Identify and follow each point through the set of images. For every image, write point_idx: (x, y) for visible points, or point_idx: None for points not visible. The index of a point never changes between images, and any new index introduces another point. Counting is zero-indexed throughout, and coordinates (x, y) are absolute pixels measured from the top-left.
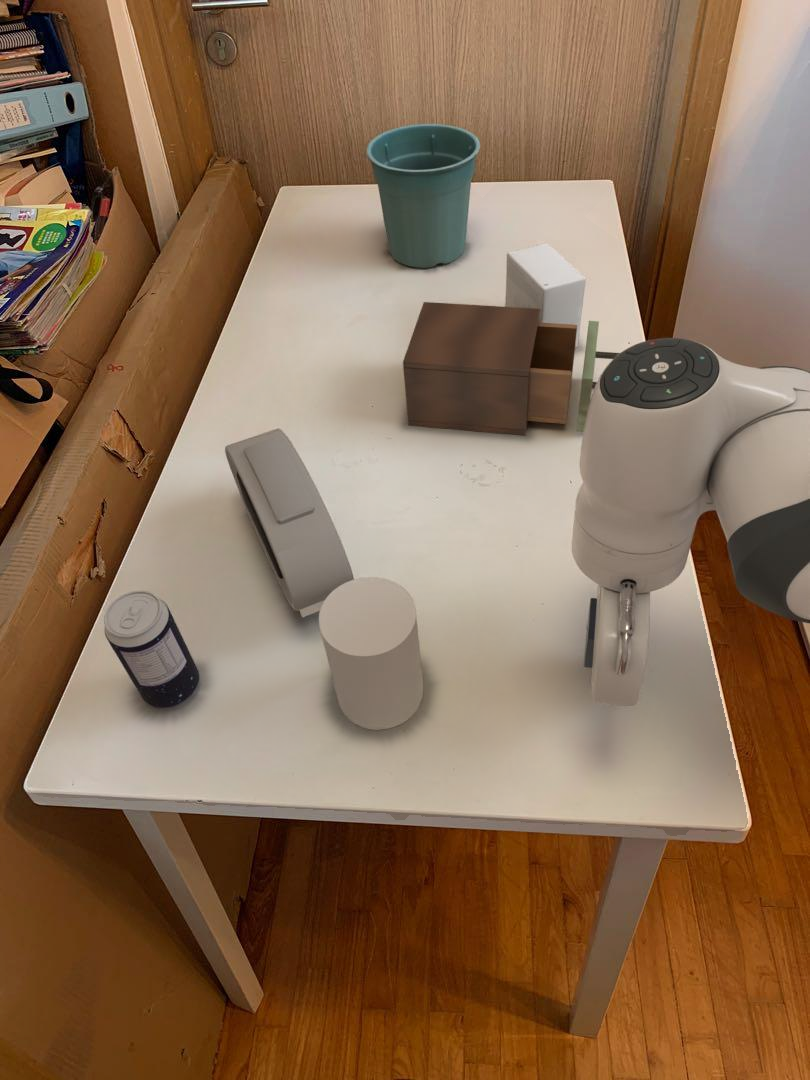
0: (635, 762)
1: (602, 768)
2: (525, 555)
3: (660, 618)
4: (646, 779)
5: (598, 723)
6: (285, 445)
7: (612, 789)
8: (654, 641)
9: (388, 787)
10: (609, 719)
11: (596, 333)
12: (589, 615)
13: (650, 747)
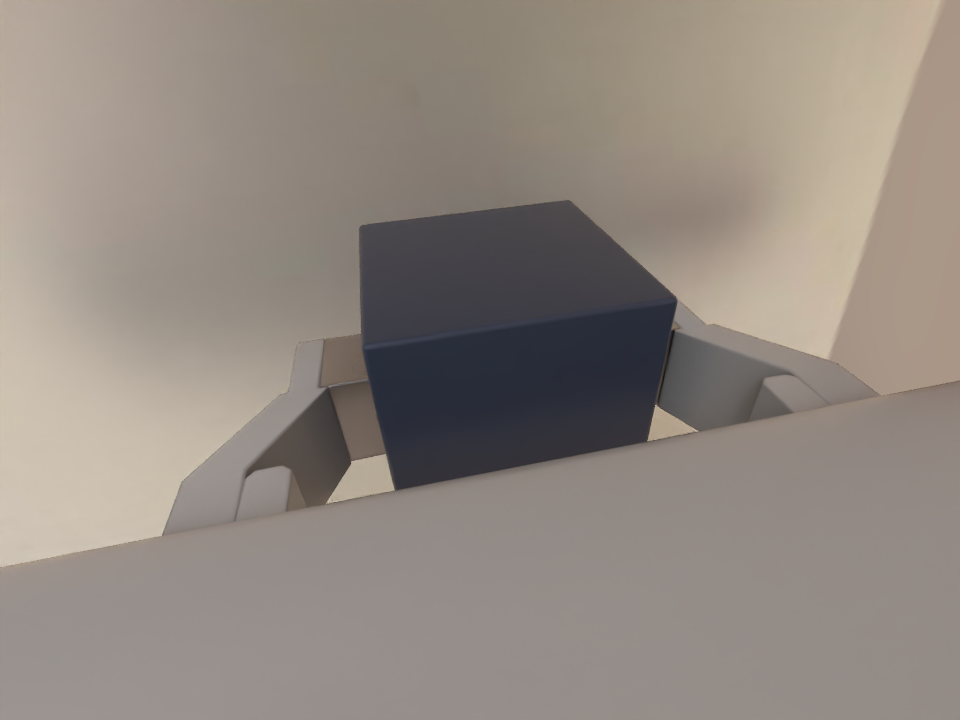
0: (758, 112)
1: (764, 205)
2: (119, 530)
3: (118, 75)
4: (814, 69)
5: (635, 239)
6: None
7: (823, 169)
8: (263, 92)
9: None
10: (621, 211)
11: None
12: None
13: (714, 66)
